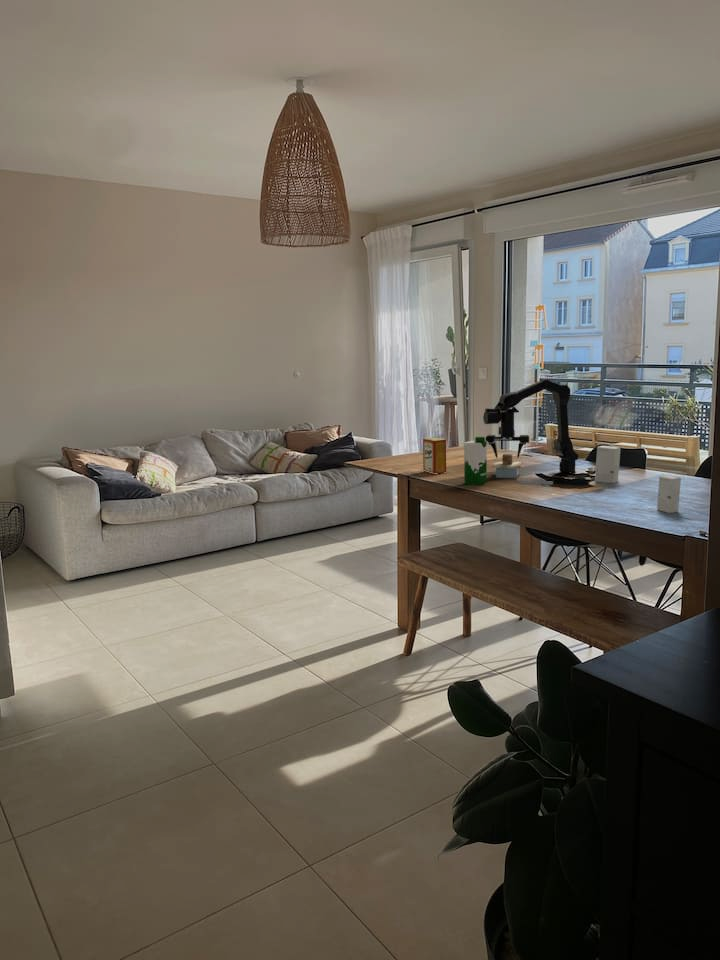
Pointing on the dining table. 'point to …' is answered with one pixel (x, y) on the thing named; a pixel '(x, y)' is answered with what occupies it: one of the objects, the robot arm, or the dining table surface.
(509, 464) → the lid
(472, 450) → the milk carton
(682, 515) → the dining table surface
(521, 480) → the mat
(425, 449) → the baking soda box
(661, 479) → the skincare box
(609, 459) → the skincare box
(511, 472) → the light blue storage bin
